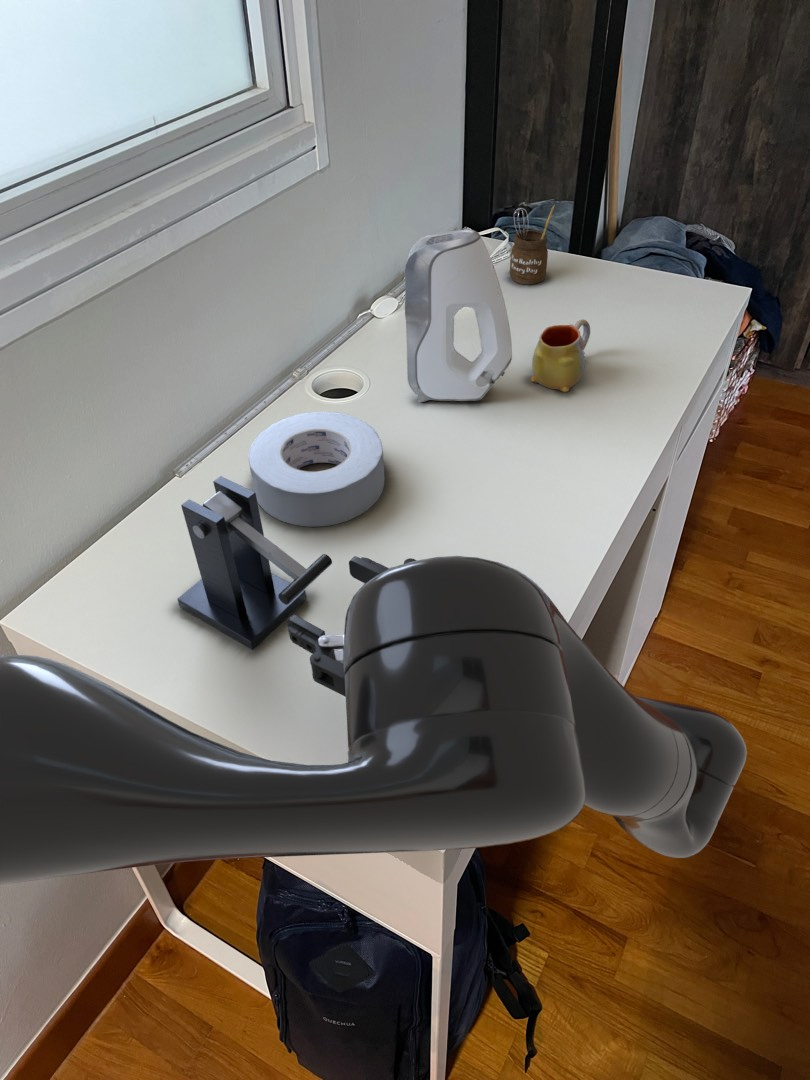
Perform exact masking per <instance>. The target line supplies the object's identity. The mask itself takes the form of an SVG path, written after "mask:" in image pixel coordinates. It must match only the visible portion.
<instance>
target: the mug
mask: <svg viewBox="0 0 810 1080" xmlns="http://www.w3.org/2000/svg"><path fill="white" fill-rule="evenodd" d="M581 327H582V330H583V331H582V335H581V331H580V329H581ZM590 336H591V325H590V323H589V321H588V320H586V319H579V320H577V321H576V322H575V324H556V325H550V326H547V327H546V328H544V329H543V330H542V332H541V333H540V335H539V337H538V342H537V344H536V346H535V348H534V351H533V354H532V359H531V369H532V376H531V377H530V381H531V382H532V383H534V384H535V383H536V384H539V385H541V386H542V387H545V388H548V389H551V390H559V391H560V392H562V393H568V392H569V391H570V388H572V387H574V386H575V385H576V384H577V383H578V382H580V379H581V378H582V376H583V373H584V371H585V366H586V365H585V364H586V359H585V358H586V356H585V355H586V352H585V349H586V346H587V344H588V342H589V339H590Z"/></svg>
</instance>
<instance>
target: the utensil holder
mask: <svg viewBox="0 0 810 1080" xmlns="http://www.w3.org/2000/svg"><path fill="white" fill-rule="evenodd" d="M555 206H556V204H553V206H552V207H551V209H550V212H549V215H548V217H547V219H546V221H545V225H544V229H543V231H541V230H538V229H530V228H529V226H530V222H529V213H527V211H525V213H526V216H527V217H526V218H527V227H526V229H522V230H521V227H520V226H521V225H520V223H517V226H518V229H519V231H518V230H517V227H516V226H514V228H515V230H516V233H515V234H514V237H513V246H512V247H511V249H510V250H511V251H510V260H509V277H510V279H511V280H512V281H513V282H515V283H516V284H519V285H530V286H531V285H537V284H540V283H542V282H543V281H544V280H545V278H546V275H547V268H548V257H549V256H548V254H549V251H548V250H549V249H548V247H547V243H548V238H547V237H548V236H547V235H546V231H547V229H548V226H549V225H550V223H551V219H552V216H553V212H554V209H555ZM517 210H518V211H522V212H521V213H522V214H521V215H522V216H525V214H524V211H523V210H525V207H524V208H523V207H518V208H517ZM516 214H517V215H516ZM519 215H520V212H517V211H514V212H513V222H514V223H513V225H516V220H519V219H520V216H519ZM515 216H517V219H515ZM526 218H525V217H523V223H522V224H525V222H526Z"/></svg>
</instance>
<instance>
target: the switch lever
mask: <svg viewBox="0 0 810 1080" xmlns="http://www.w3.org/2000/svg"><path fill="white" fill-rule="evenodd" d="M202 506H203V507H205V508H207V509H209V510H211V511H213V512H215V513H217V514H219V515H221V516H223V517H224V518H225V523H226V527H227V531H228V533H230V532H231V531H232V532H233V533H235V534H236V535H237V536H239V537H240V538H241V539H242V540H244V541H245V542H246V543H248V544H249V545H250V546H251V547H253V548H254V549H255V550H257V551H258V552H259V553H260V554H262V555H263V556H264V557H266V558H267V559H268V560H269V562H270V563H272V564H273V565H274V566H275V567H277V568H278V569H280V570H281V571H282V572H283V573H284V574H286V575H287V576H288V577H290V578H291V579H292V581H291V582H290V583H291V584H289V585H288V586H287V587H286V588H285V589H284V590H283V591H282V592H281V593H280V594H279V595H278V597H279V599H280V601H281V602H282V603H284V604H286V605H288V604H289V603H290V602H291V601H292V600H294V599H295V598H296V597H297V596H298V595H299V594H300V593H301V592H302V591H303V590H306V589H307V588H308V587H309V586H310V585H311V584H312V583H313V582H314V581H315V580H316V579H318V577H319V576H320V575H322V574H323V573H324V572H325V571H326V570H327V569H328V568H329V567H330V566H331V565H332V564H333V559H332V558H331V557H330V556H329V555H328V554H326V553H322V554H321V555H320V556H319V557H318V558H317V559H316V560H314V561H313V562H312V564H310V565H309V566H308V567H307V568H306V567H304V566H303V565H302V564H301V563H299V562H298V561H297V560H295V559H294V558H293V557H291V556H290V555H289V554H288V553H286V552H285V551H284V550H282V549H281V548H279V546H277V545H276V544H275V543H274V542H272V541H271V540H269V539H268V538H267V537H265V535H264V536H263V535H262V534H260V533H259V532H258V531H256V530H255V529H254V528H253V527H251V526H250V525H249V524H247V523H246V522H245V521H244V520H242V519H241V516H242V507H240V506H239V505H238V504H236V503H235V502H234V501H232V500H231V499H230V498H229V497H227V496H226V495H225V494H223V493H222V492H221V491H219V492H218V493H216V492H215V493H214V495H213V496H211V497H209V498H208V499H207V500H206V501H205V502H203V503H202Z"/></svg>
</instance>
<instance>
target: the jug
mask: <svg viewBox="0 0 810 1080" xmlns="http://www.w3.org/2000/svg"><path fill="white" fill-rule="evenodd" d="M404 290H405V291H404V317H405V329H406V330H405V331H406V332H405V333H406V336H405V337H406V370H407V373H406V374H407V383H408V387H409V388H410V389H411V391H412V392H413V394H415V395H417V401H418V403H424V402H427V401H431V400H432V401H437V402H438V401H440V402H441V401H443V402H444V401H445V402H447V401H448V402H458V401H459V402H478V401H480V400H482V399H483V398H484V397H485V396H486V395H487V394H488V392H489V391H490V390H491V389H492V387H493V386H494V385H495V383H496V382H497V381H498V380H500V378H501V377H503V376H504V375H505V373H506V370H507V369H508V368H509V366H510V364H511V363H512V360H513V346H512V345H513V344H512V332H511V327H510V321H509V320H510V319H509V315H508V311H507V305H506V302H505V298H504V294H503V291H502V288H501V284H500V280H499V277H498V274H497V272H496V269H495V266H494V263H493V260H492V257H491V255H490V253H489V250H488V248H487V246H486V244H485V242H484V239H483V237H482V235H481V234H480V233H479V232H478V231H476V230H474V229H456V230H455V229H454V230H448V231H442V232H435V233H431V234H428V235H425V236H422V237H421V238H419V239H418V240H417V241H416V242H414V244H413V245H412V246H411V248H410V250H409V252H408V257H407V260H406V263H405V266H404ZM461 308H471V309H473V311H474V314H475V318H476V322H477V328H478V333H479V341H480V349H481V350H480V353H479V354H478V355H477V357H476V358H475V359H474V360H472V361H471V360H469V359H468V358H466V357H465V356H464V355H462V354H461V353H460V352H458V350H457V349H456V348H455V343H454V342H455V316H456V315H457V314H458V312H459V311H460V309H461Z"/></svg>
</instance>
